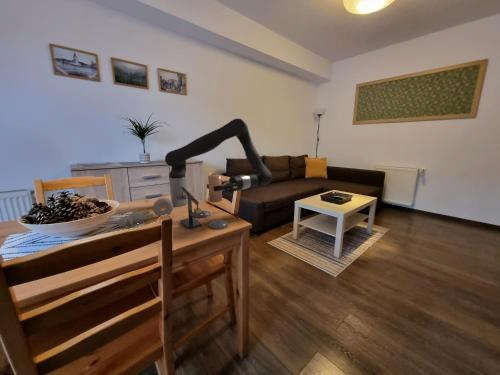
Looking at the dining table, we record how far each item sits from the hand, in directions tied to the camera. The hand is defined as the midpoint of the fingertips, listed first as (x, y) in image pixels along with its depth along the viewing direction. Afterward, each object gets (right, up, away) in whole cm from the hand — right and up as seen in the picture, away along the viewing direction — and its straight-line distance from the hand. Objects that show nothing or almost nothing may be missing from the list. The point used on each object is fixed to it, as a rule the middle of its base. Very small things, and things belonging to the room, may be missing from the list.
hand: (210, 187), depth 96 cm
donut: (-27, -15, +14) cm, 34 cm away
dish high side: (-8, -15, +16) cm, 23 cm away
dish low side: (+3, -18, +3) cm, 18 cm away
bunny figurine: (-37, -18, +5) cm, 41 cm away
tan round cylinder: (+2, -6, +3) cm, 7 cm away
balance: (-10, -18, +3) cm, 21 cm away
